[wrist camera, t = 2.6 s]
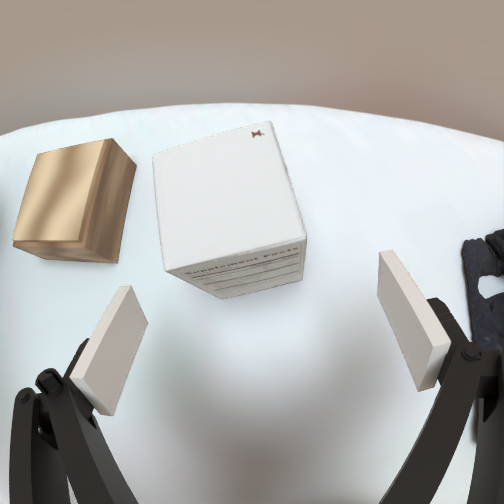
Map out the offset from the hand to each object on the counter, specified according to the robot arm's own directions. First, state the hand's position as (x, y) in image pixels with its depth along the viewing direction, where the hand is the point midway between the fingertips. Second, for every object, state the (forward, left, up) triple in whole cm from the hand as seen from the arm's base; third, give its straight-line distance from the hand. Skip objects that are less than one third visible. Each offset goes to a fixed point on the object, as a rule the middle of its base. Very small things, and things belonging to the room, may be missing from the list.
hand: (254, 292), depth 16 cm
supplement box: (-2, +5, -11) cm, 12 cm away
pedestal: (-21, +9, -11) cm, 25 cm away
